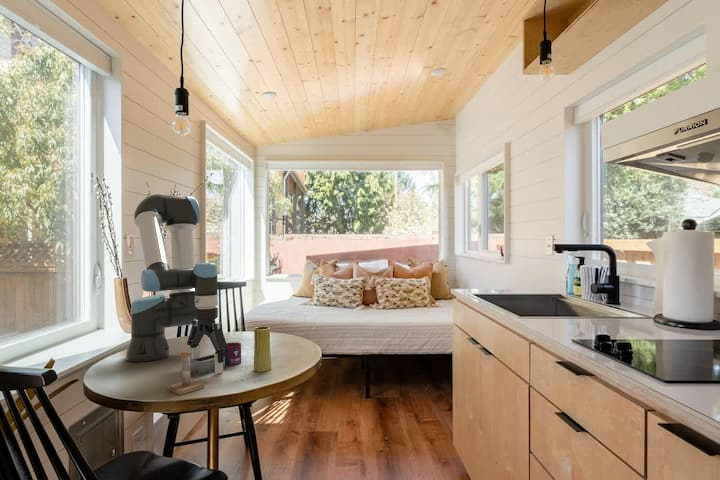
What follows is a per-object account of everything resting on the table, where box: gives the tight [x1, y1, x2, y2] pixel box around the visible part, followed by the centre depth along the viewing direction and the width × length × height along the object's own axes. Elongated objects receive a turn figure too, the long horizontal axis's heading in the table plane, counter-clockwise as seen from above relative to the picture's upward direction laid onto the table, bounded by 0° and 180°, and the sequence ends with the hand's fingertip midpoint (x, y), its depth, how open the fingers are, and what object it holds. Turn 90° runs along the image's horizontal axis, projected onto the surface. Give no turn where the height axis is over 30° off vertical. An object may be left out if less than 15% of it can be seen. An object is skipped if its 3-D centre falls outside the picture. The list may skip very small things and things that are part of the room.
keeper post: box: [168, 350, 204, 396], centre depth 124 cm, size 7×7×11 cm
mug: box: [223, 341, 242, 367], centre depth 152 cm, size 7×10×7 cm
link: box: [190, 353, 226, 376], centre depth 143 cm, size 6×10×4 cm, turn 144°
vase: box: [253, 326, 272, 373], centre depth 142 cm, size 6×6×14 cm
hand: (207, 369), depth 143 cm, fingers open, 13 cm apart
